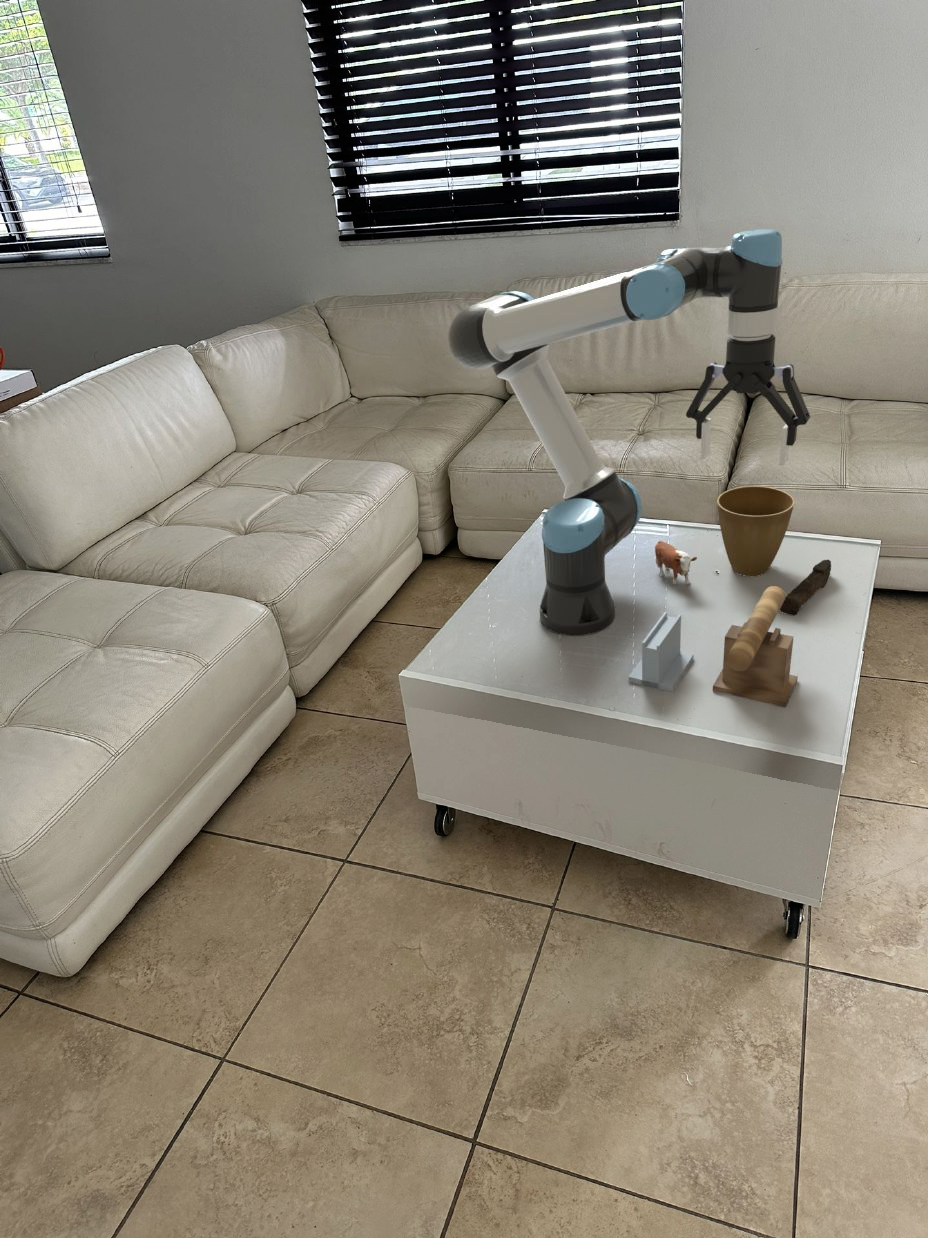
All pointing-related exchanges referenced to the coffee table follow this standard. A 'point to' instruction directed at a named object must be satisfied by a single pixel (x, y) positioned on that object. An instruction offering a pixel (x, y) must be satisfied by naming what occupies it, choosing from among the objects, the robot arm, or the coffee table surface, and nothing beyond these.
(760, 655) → the wooden stand
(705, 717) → the coffee table surface
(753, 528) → the plant pot
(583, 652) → the coffee table surface
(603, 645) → the coffee table surface
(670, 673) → the cradle
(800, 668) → the coffee table surface
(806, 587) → the hand tool
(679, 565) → the bull figurine
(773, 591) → the rod
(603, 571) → the robot arm
